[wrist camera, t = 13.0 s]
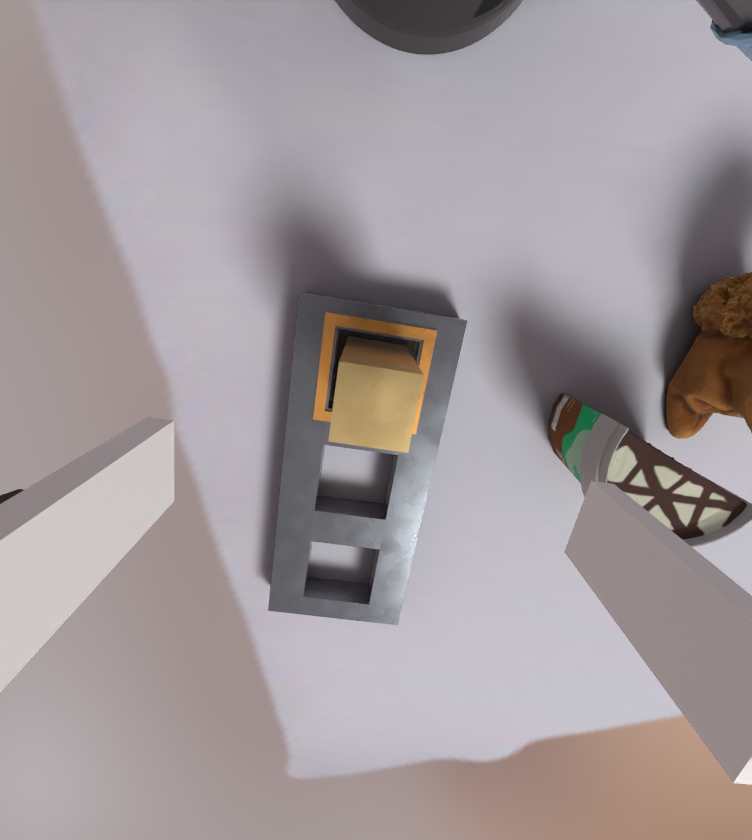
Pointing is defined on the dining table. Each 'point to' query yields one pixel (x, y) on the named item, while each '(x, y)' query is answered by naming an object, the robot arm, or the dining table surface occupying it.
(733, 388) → the stuffed squirrel
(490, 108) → the dining table surface
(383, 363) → the brass post
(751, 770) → the robot arm
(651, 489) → the food container
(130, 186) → the dining table surface
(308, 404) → the grey slotted tray
